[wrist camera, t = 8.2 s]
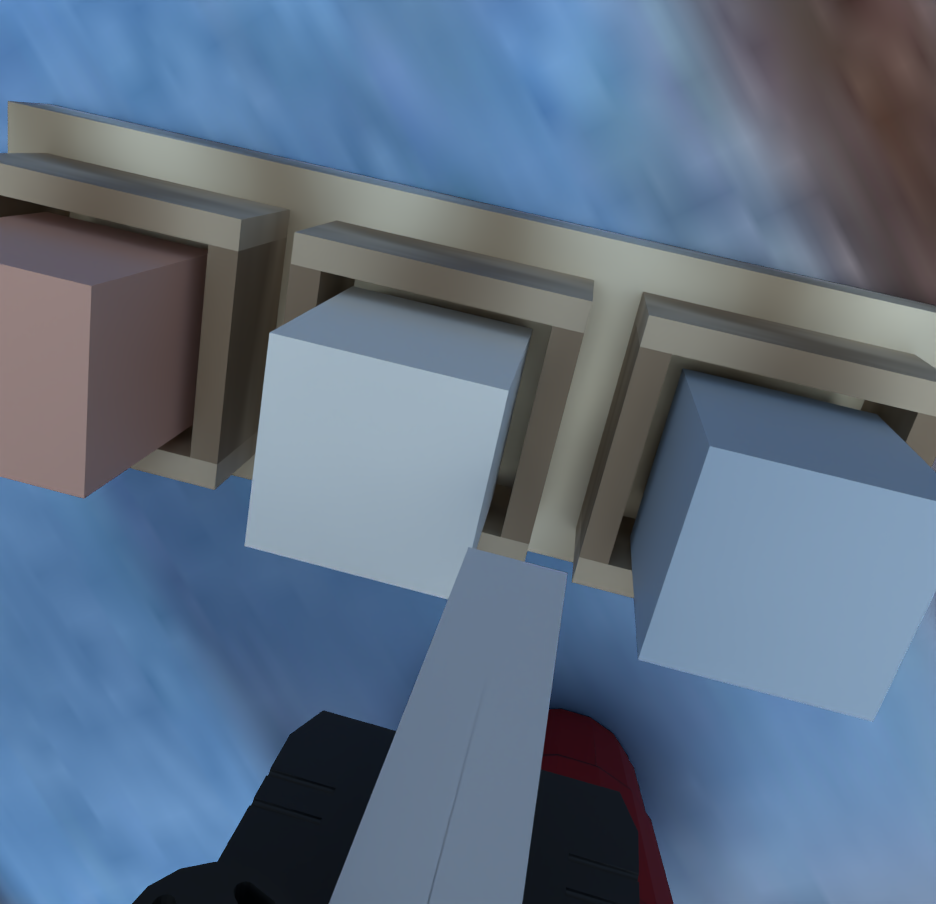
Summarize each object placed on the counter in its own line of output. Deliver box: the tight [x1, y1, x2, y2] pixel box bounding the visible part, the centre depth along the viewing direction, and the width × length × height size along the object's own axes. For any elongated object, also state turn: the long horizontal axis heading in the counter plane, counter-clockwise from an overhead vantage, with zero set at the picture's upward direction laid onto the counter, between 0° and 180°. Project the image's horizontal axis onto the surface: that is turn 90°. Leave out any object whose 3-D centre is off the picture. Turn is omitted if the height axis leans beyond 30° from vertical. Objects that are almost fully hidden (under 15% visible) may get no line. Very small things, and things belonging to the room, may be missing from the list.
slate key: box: [630, 368, 936, 722], centre depth 19 cm, size 5×5×6 cm
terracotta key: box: [0, 212, 208, 498], centre depth 21 cm, size 5×5×6 cm
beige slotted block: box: [0, 101, 936, 598], centre depth 24 cm, size 28×10×6 cm, turn 78°
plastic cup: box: [541, 709, 673, 904], centre depth 26 cm, size 11×11×12 cm
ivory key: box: [245, 286, 533, 599], centre depth 20 cm, size 5×5×6 cm
